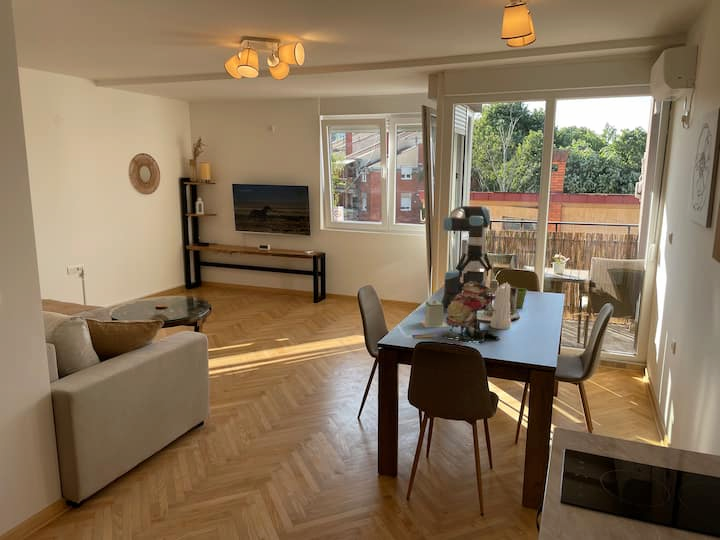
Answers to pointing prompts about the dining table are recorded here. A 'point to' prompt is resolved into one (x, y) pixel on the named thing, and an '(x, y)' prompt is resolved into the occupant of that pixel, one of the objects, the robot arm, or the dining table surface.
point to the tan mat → (423, 336)
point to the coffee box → (513, 298)
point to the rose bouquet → (469, 312)
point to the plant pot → (520, 297)
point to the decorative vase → (501, 308)
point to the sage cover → (434, 313)
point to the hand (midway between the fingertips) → (473, 282)
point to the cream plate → (433, 326)
